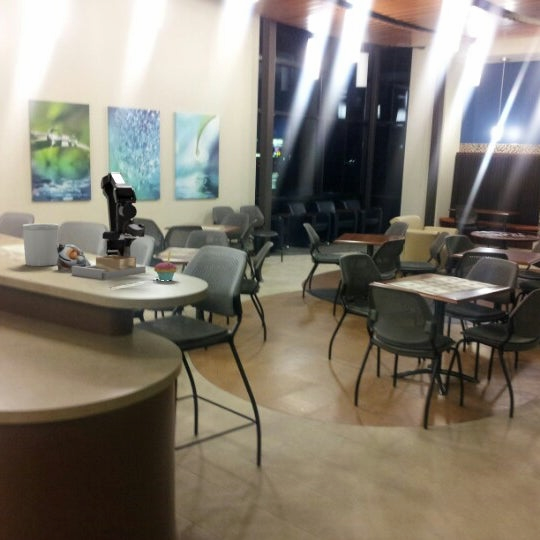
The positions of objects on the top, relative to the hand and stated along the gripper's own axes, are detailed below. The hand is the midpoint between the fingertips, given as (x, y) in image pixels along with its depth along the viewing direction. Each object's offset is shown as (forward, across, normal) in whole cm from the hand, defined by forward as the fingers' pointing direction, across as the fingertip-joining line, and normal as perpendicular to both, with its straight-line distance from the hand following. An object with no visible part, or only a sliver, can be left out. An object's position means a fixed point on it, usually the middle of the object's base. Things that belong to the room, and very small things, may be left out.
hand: (124, 255), depth 240 cm
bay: (+8, -8, 0) cm, 11 cm away
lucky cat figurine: (+8, -7, +21) cm, 24 cm away
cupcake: (+8, -2, -23) cm, 24 cm away
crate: (+6, -5, 0) cm, 8 cm away
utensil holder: (+8, -4, +45) cm, 46 cm away
